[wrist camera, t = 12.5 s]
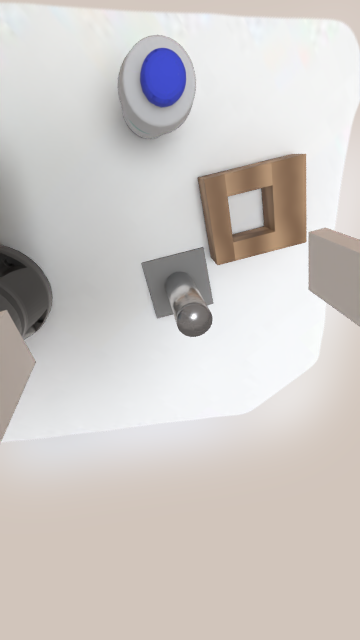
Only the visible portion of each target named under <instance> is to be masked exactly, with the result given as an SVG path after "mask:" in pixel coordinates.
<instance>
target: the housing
mask: <svg viewBox="0 0 360 640" xmlns="http://www.w3.org/2000/svg"><path fill="white" fill-rule="evenodd" d="M198 182H199V188H200V194H201V200H202V206H203V212H204V218H205V224H206V230H207V236H208V242H209V248H210V254H211V258H212V259H213V261H214V262H215V263H216V264H217V265H221V264H224V263H228V262H232V261H236V260H240V259H244V258H247V257H251V256H255V255H259V254H263V253H267V252H270V251H274V250H278V249H282V248H286V247H290V246H294V245H297V244H301V243H305V242H306V154H291V155H287V156H283V157H279V158H274V159H270V160H266V161H262V162H258V163H254V164H250V165H246V166H242V167H238V168H234V169H230V170H226V171H222V172H218V173H214V174H210V175H206V176H202V177H198ZM260 188H262V201H263V215H264V226H263V227H260V228H256V229H252V230H248V231H244V232H240V233H236V234H232V229H231V221H230V213H229V205H228V196H232V195H236V194H240V193H244V192H248V191H252V190H256V189H260Z"/></svg>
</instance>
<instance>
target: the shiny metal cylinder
mask: <svg viewBox="0 0 360 640" xmlns="http://www.w3.org/2000/svg"><path fill="white" fill-rule="evenodd" d="M165 288H166V291H167V295H168V298H169V301H170V304H171V307H172V310H173V313H174V317H175V320H176V323H177V326H178V329H179V330H180V332H181V333H183V334H184V335H186V336H190V337H196V336H200V335H202V334H204V333H205V332H206V331H207V330H208V329H209V328H210V326H211V324H212V314H211V312H210V310H209V309H208V307H207V305H206V303H205V301H204V300H203V298H202V296H201V294H200V292H199V291H198V289H197V287H196V285H195V284H194V282H193V280H192V278H191V277H190V275H188V274H187V273H185V272H175V273H172V274H171V275H170V276H169V277H168V278H167V280H166V283H165Z"/></svg>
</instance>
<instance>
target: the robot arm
mask: <svg viewBox="0 0 360 640" xmlns="http://www.w3.org/2000/svg"><path fill="white" fill-rule="evenodd" d="M309 290H310V291H311V292H313V293H314V294H315V295H317V296H318V297H319V298H321V299H322V300H324V301H325V302H326V303H328V304H329V305H331V306H332V307H333V308H335V309H336V310H337V311H339V312H340V313H342V314H343V315H345V316H346V317H347V318H349V319H350V320H351V321H353V322H354V323H355V324H357V325H358V326H360V240H359V239H356V238H353V237H351V236H348V235H345V234H342V233H339V232H336V231H333V230H331V229H328V228H323V229H319V230H315V231H311V232H309ZM51 306H52V292H51V287H50V284H49V282H48V280H47V278H46V276H45V274H44V273H43V272H42V270H41V269H40V268H39V267H38V266H37V265H36V264H35V263H34V262H33V261H32V260H31V259H30V258H28V257H27V256H25V255H24V254H22V253H20V252H18V251H16V250H14V249H12V248H9V247H6V246H2V245H0V443H1V441H2V438H3V436H4V434H5V432H6V429H7V427H8V425H9V422H10V420H11V418H12V416H13V413H14V411H15V409H16V406H17V404H18V402H19V400H20V397H21V395H22V393H23V390H24V388H25V386H26V383H27V381H28V379H29V377H30V374H31V372H32V370H33V367H34V365H35V363H36V361H35V360H34V358H33V356H32V354H31V352H30V351H29V349H28V347H27V345H26V343H25V342H24V339H26V338H28V337H29V336H31V335H33V334H34V333H35V332H36V331H38V330H39V329H40V327H41V326H42V325H43V324H44V322H45V320H46V318H47V316H48V314H49V312H50V309H51Z"/></svg>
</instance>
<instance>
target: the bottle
mask: <svg viewBox="0 0 360 640" xmlns="http://www.w3.org/2000/svg"><path fill="white" fill-rule="evenodd" d="M195 91H196V78H195V71H194V67H193V64H192V62H191V59H190V58H189V56H188V54H187V53H186V51H185V50H184V49H183V47H182V46H181V45H180V44H178V43H177V42H176V41H174V40H173V39H171V38H169V37H165V36H162V35H153V36H148V37H146V38H144V39H142V40H140V41H139V42H138V43H136V44H135V45H134V46H133V48H132V49H131V50H130V52H129V53H128V54H127V56H126V57H125V59H124V61H123V63H122V65H121V68H120V72H119V77H118V94H119V98H120V102H121V105H122V112H123V116H124V119H125V121H126V124H127V125H128V127H129V128H130V129H131V130H132V131H133V132H134V133H135V134H137V135H138V136H140V137H142V138H149V139H152V138H157V137H159V136H161V135H163V134H167V133H170V132H172V131H174V130H176V129H177V128H178V127H180V126H181V124H182V123H183V122H184V121H185V120H186V118H187V116H188V115H189V112H190V110H191V107H192V103H193V100H194V96H195Z"/></svg>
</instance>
